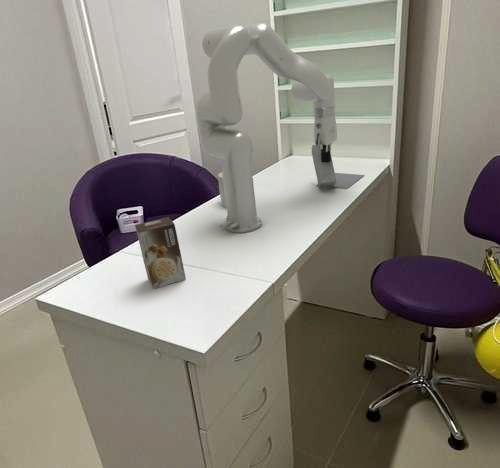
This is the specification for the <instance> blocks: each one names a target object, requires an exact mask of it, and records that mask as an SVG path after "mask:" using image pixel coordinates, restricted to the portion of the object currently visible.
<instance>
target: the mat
mask: <svg viewBox="0 0 500 468" xmlns="http://www.w3.org/2000/svg"><path fill="white" fill-rule="evenodd" d="M335 176H336V183H335V185H333V186H327V187H326V188H330V189H331V188H333V189H341V190H343V189H344V190H348V189H349V188H351V187H352V186H353V185H354V184H356V183H357V182H359V181H360V180H361V179H362V178H364V177H365V174H357V173H344V172H343V173H342V172H335ZM316 187H319V186H318V184H316Z"/></svg>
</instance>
